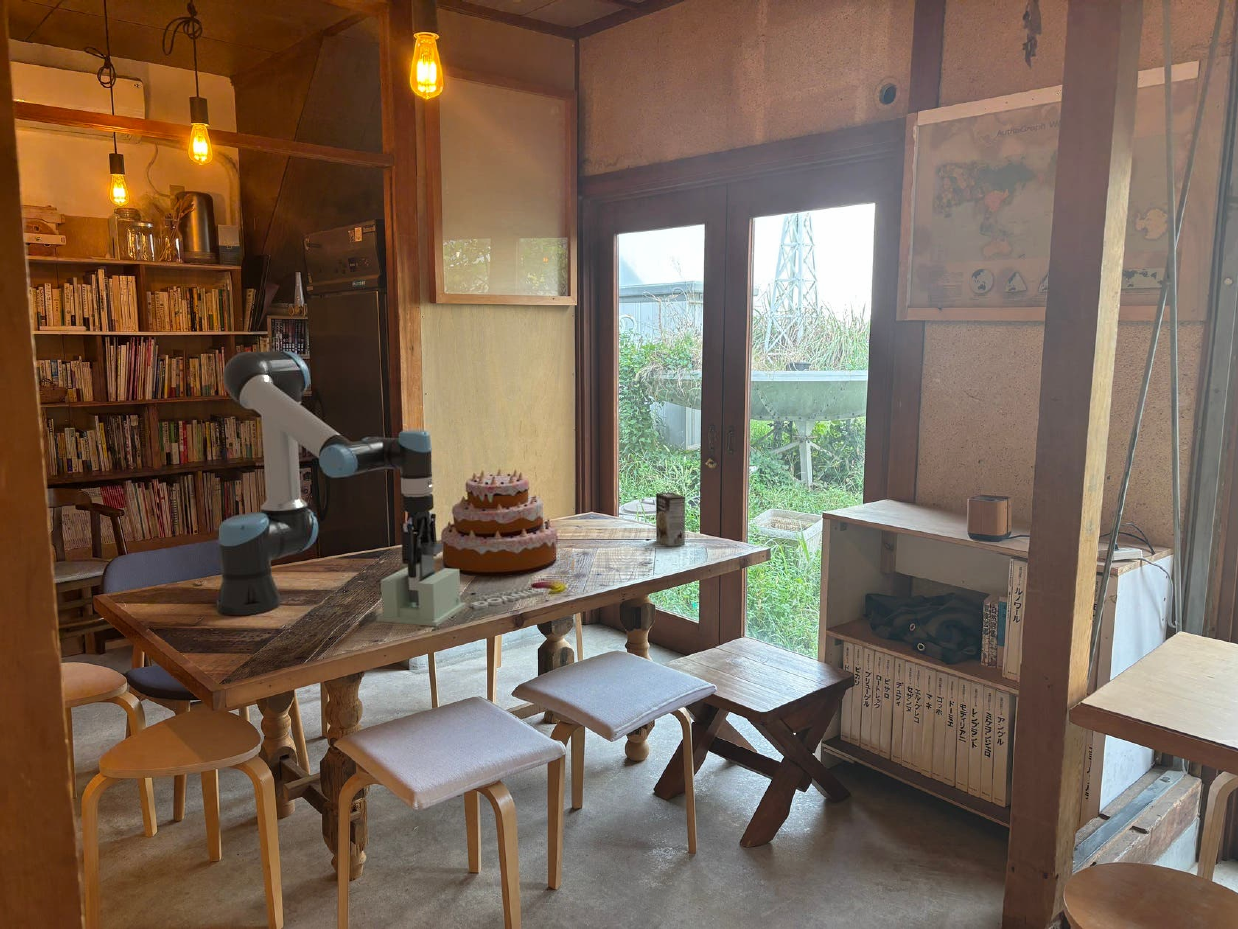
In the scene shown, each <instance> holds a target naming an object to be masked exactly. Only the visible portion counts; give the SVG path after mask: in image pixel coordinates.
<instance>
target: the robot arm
mask: <svg viewBox="0 0 1238 929" xmlns="http://www.w3.org/2000/svg"><path fill="white" fill-rule="evenodd" d="M309 371H310V370H309V369H308V366H307V364H306V363H305V361H304V360H303V359H302V358H301V356H299V355H298V354H297V353H295V352H292V351H285V350H271V351H270V350H269V351H266V350H265V351H245V352H241V353H240V352H239V353H238V354H236V355H234V356H233V357H231V358H230V359H229V360H228V361H227V363H226V364H225V366H224V368H223V373H222V382H223V386H224V387H225V390H226V392H227V393H228V394H229V396H230V397H231V398H232V399H233V400H234V401H235V402H237V403H238V404H239V405H240V406H241V407H243V408H244V409H246V410H247V409H248V410H254V411H255V412H257V413H258V414H259V415H260V416H261V431H262V433H261V434H262V446H263V447H262V448H263V449H262V450H263V462H264V464H263V465H264V480H265V496H266V500H265V502H264V503H263V504H262V505H261V506H260V512H247V513H244V514H242V513H241V514H237V515H233V516H231V517H228V518H226V519H225V520H223V521H222V522H221V524H220V525H219V528H218V533H219V534H218V535H219V536H218V543H219V553H220V564H221V576H222V577H221V578H222V579H221V585H220V587H219V588H220V589H219V592H218V595H217V596H218V597H217V600H216V611H217V612H218V613H219V614H221V615H225V616H248V615H255V614H261V613H266V612H269V611H272V610H274V609H276V608H278V607H279V606H281V603H282V602H281V594H280V591H278V587H277V585H276V583H275V580H274V578H273V574H272V563H271V561H274V560H277V559H281V558H284V557H287V556H291V555H297V554H300V553H301V552H303V551H305V550H307V549H310V547H311V546H312V545H313V544H314V543H315V541H316V539H317V538H318V533H319V523H318V519H317V517H316V516H314V515H315V514H314V512H313V511H312V510H311V509H309V508H308V502H306V501H305V500H303V498H302V493H301V478H300V477H301V475H300V458H299V445H300V446H302V447H303V448H305V449H306V450H308V451H309V452H310V453H311V454H313V456H315V457H316V458H318V462H319V467H320V468H321V470H322V472H323V473H324V474H325V475H326V476H327V477H329V478H333V479H335V478H344V477H345V478H347V477H350V476H353V475H354V476H355V475H358V474H362V473H367V472H372V471H376V470H382V469H395V470H400V471H399V472H400V490H401V492H400V493H401V494H403V495H402V496H401V507H402V508H401V509H402V511H404V512H405V513H406V514H407V517H406V521H405V522H404V523H403V522H401V523H400V526H399V527H400V532H401V563H402V564H403V565H407V564H408V575H409V590H418V583H419V582H420V565H419V564H417V561H418V547H419V542H420V541H421V542H437V531H436V530H437V529H436V520H437V519H436V518H437V515H436V513H430V511H431V510H433V509H434V508H435V507H434V504H435V503H434V495H433V493H432V492H433V491H434V490H433V485H434V480H433V472H432V468H433V467H432V466H433V465H432V462H433V460H432V450H433V448H432V442H431V435H430V432H428V431H427V430H423V429H416V430H415V429H413V430H412V429H411V430H409V429H408V430H402V431H400V432H399V433H398V438H395V437H394V438H393V437H381V436H380V437H379V436H372V437H368V436H367V437H364V438H362V439H361V440H359V441H358V440H357V441H350V440H349V439H348V438H346V437H344V436H343V435H342V434H340V433H339V432H337V431H336V430H335V429H333V428H332V427H331V426H329V425H328V424H327V423H325V422H324V421H322V420H321V418H318V417H317V416H316V415H314V414H313V413H312V412H311V411H309V410H308V409H307V408H306V407H305V406H303V405H301V404H302V394H303V393H305V392H306V391H307V387H309V385H310V381H311V378H310V377H311V376H310V372H309ZM437 543H438V542H437ZM437 555H438V554H436V555H434V558H435V557H437Z"/></svg>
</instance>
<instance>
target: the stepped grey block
mask: <svg viewBox="0 0 1238 929" xmlns="http://www.w3.org/2000/svg"><path fill="white" fill-rule="evenodd" d="M440 553H443V543H441V542H421V541H420V542H419V547H418V561H417V564H419V565H420V582H421V581H423V580H424V579H426V578H428V577H430V576H432V575H434V574H435V559H434V558H435V556H434V555H436V554H437V555H438V554H440ZM437 555H436V556H437ZM406 566H407V567H408V564H406ZM408 588H409V575H408ZM409 602H414V603H419V595H418V590H409Z"/></svg>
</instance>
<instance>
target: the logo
mask: <svg viewBox="0 0 1238 929" xmlns="http://www.w3.org/2000/svg"><path fill="white" fill-rule="evenodd" d="M540 588H541V589H543V588H546V589H548V588H550V590H549V591H548V594H549V595H553V594H555V595H556V594H560V593H563V592H565V591H566V584H565V583H562V582H559V581H538V582H534V583H531V585H528V586H524V587H523V586H522V587H520V588H515V589H510V590H508V591H507V590H506V591H502V592H497V593H492V594H489V595H483V596H479V598H478V601H475V602H470V607H471V608H473V609H474V611H478V610H480V609H481V610H482V609H486V608H488V607H489V606H500V605H502V604H503V603H504V604H508V603H509V601H510V602H516V601H520V600H521V599H525V600H526V599H528V598H533V597H539V596H542V595H544V591H543V590H540ZM529 589H530V590H529ZM551 589H552V590H551ZM526 591H527V592H526Z"/></svg>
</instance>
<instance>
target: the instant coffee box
mask: <svg viewBox="0 0 1238 929" xmlns="http://www.w3.org/2000/svg"><path fill="white" fill-rule="evenodd" d="M655 512H656V513H655V516H656V518H655V521H656V524H655V526H656V527H655V531H656V532H655V533H656V535H655V536H656V537H655V538H656V540H655V541H656V542H658V543H660V544H662V545H664V546H667V547H675V546H676V547H677V546H685V540H686V538H685V537H686V536H685V534H686V532H685V531H686V529H685V528H686V496H683V495H681V494H679V493H675V492H660V493H659V492H658V493H656V494H655Z"/></svg>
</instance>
